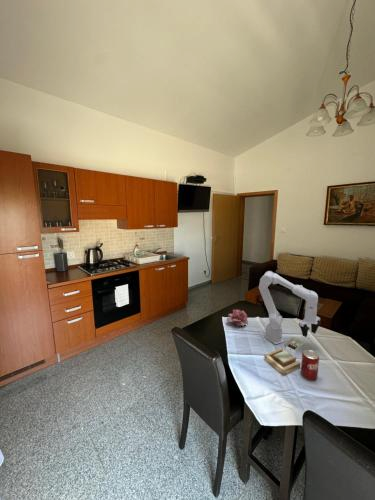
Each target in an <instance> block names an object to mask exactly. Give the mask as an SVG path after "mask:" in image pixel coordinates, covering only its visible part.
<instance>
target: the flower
mask: <svg viewBox="0 0 375 500" xmlns="http://www.w3.org/2000/svg"><path fill="white" fill-rule="evenodd" d="M227 316H228V317H227V318H226V319H227V321H228V322H230V323H232V324H235V325H236V326H239V327H240V328H242V327H245V326H244V325H246V324H247V325H248V324H249V320H248V319H249V318H248V315H247V313H246V312H245V311H244V310H240V309H232V313H228V314H227ZM241 326H242V327H241Z"/></svg>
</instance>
